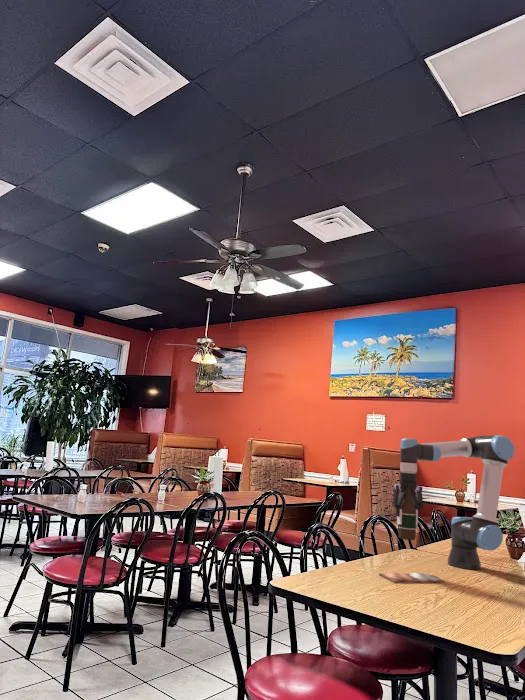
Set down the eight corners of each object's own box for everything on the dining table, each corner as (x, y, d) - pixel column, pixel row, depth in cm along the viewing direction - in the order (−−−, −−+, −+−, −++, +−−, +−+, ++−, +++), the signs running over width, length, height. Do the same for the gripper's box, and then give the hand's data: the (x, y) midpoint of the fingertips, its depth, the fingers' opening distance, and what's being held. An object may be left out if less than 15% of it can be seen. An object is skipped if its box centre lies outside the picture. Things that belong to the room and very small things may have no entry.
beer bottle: (418, 540, 223) (419, 484, 228) (400, 539, 224) (401, 483, 228) (413, 537, 231) (414, 483, 236) (396, 536, 231) (397, 482, 236)
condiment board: (428, 575, 220) (428, 572, 221) (445, 583, 209) (445, 580, 209) (378, 575, 214) (378, 572, 214) (393, 582, 203) (393, 579, 203)
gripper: (423, 473, 239) (422, 523, 235) (384, 470, 234) (382, 522, 230) (432, 474, 232) (431, 526, 228) (392, 471, 227) (391, 524, 222)
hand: (407, 524), depth 229 cm, fingers closed on beer bottle, 7 cm apart
